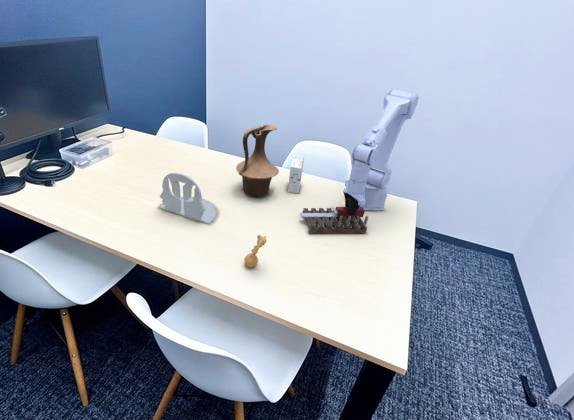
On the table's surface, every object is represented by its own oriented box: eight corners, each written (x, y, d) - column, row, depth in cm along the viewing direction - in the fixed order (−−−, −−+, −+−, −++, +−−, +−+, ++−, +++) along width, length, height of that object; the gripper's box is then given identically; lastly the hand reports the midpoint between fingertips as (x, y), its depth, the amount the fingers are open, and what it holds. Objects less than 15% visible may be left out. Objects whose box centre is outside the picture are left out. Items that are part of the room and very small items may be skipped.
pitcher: (253, 206, 128) (258, 136, 113) (226, 189, 139) (227, 123, 124) (284, 193, 139) (292, 127, 124) (256, 178, 149) (261, 116, 134)
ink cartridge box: (288, 182, 147) (293, 151, 139) (300, 184, 146) (305, 153, 138) (287, 192, 140) (291, 159, 132) (298, 193, 139) (303, 161, 131)
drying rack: (352, 214, 127) (357, 198, 124) (365, 234, 117) (370, 218, 113) (301, 214, 126) (304, 198, 122) (310, 234, 115) (313, 218, 111)
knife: (360, 213, 123) (362, 206, 121) (363, 217, 121) (365, 210, 119) (300, 213, 121) (301, 206, 119) (301, 217, 118) (302, 210, 117)
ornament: (157, 208, 124) (153, 167, 115) (178, 193, 134) (175, 154, 125) (209, 224, 117) (208, 182, 108) (226, 207, 127) (227, 167, 118)
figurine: (250, 255, 104) (252, 223, 97) (268, 261, 102) (271, 229, 96) (239, 271, 97) (240, 239, 91) (258, 278, 95) (261, 245, 89)
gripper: (340, 169, 119) (332, 201, 126) (354, 188, 107) (345, 223, 114) (359, 169, 120) (350, 201, 127) (375, 189, 108) (365, 223, 115)
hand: (349, 212), depth 121 cm, fingers closed on knife, 2 cm apart
